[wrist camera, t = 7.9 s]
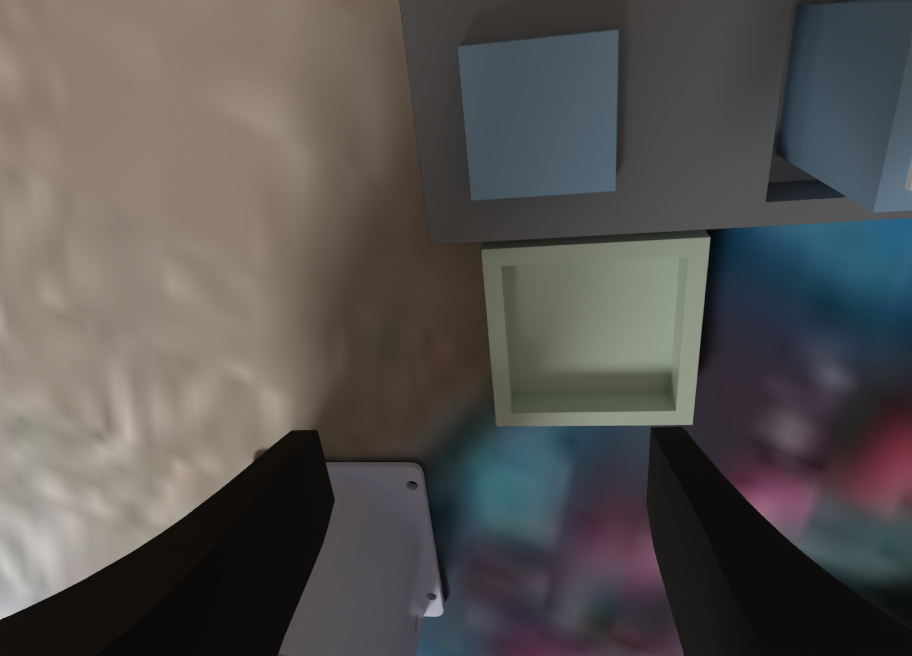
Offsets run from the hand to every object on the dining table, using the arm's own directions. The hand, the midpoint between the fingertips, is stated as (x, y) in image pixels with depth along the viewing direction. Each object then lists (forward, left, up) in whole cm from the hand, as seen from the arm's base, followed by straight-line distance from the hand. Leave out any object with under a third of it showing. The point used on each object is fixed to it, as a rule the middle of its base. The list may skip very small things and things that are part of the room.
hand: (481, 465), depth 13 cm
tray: (-2, -3, -10) cm, 10 cm away
